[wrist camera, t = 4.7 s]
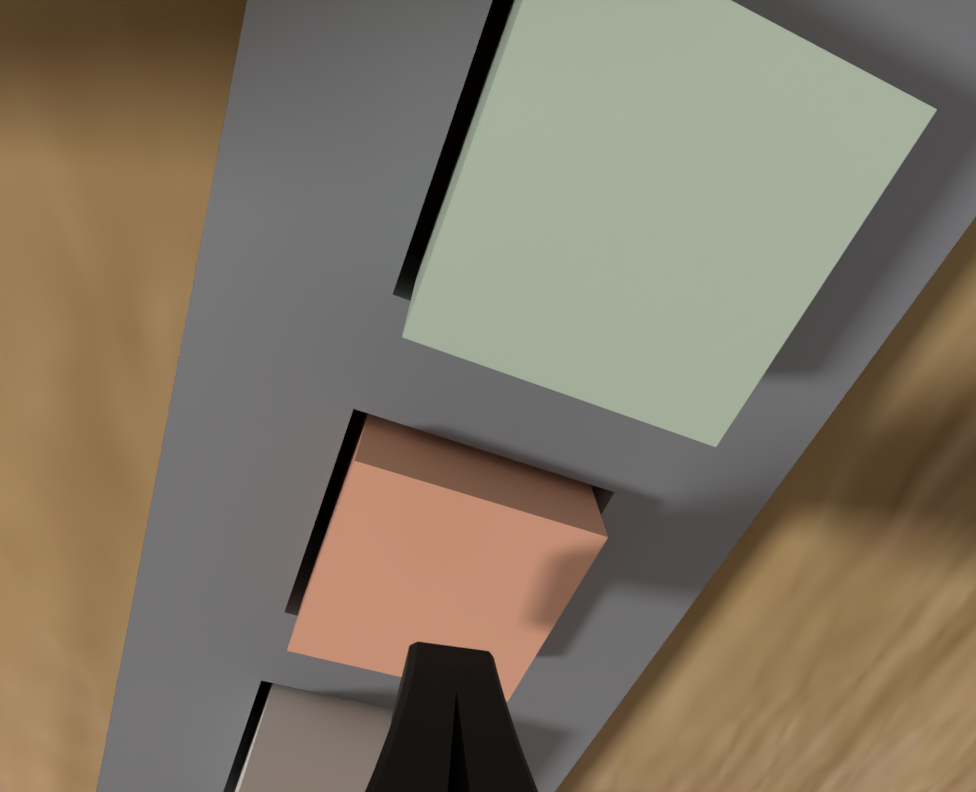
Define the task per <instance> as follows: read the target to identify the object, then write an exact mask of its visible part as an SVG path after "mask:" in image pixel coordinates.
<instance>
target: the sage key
mask: <svg viewBox="0 0 976 792" xmlns="http://www.w3.org/2000/svg"><path fill="white" fill-rule="evenodd" d="M936 111H937V109H935V108H933V107H932V106H930V105H928V104H926V103H924V102H922V101H920V100H918V99H916V98H915V97H913V96H911V95H909V94H907V93H905V92H903V91H901V90H899V89H898V88H896V87H894V86H892V85H890V84H888V83H886V82H884V81H882V80H881V79H879V78H877V77H875V76H873V75H871V74H869V73H867V72H865V71H864V70H862V69H860V68H858V67H856V66H854V65H852V64H850V63H848V62H847V61H845V60H843V59H841V58H839V57H837V56H835V55H833V54H831V53H830V52H828V51H826V50H824V49H822V48H820V47H818V46H816V45H814V44H813V43H811V42H809V41H807V40H805V39H803V38H801V37H799V36H798V35H796V34H794V33H792V32H790V31H788V30H786V29H784V28H782V27H781V26H779V25H777V24H775V23H773V22H771V21H769V20H767V19H765V18H764V17H762V16H760V15H758V14H756V13H754V12H752V11H750V10H748V9H747V8H745V7H743V6H741V5H739V4H737V3H735V2H733V1H731V0H512V2H511V5H510V8H509V11H508V14H507V17H506V20H505V22H504V25H503V28H502V31H501V34H500V37H499V39H498V42H497V45H496V48H495V51H494V54H493V56H492V59H491V62H490V65H489V68H488V71H487V73H486V76H485V79H484V82H483V85H482V88H481V90H480V93H479V96H478V99H477V102H476V105H475V108H474V110H473V113H472V116H471V119H470V122H469V125H468V127H467V130H466V133H465V136H464V139H463V142H462V144H461V147H460V150H459V153H458V156H457V159H456V161H455V164H454V167H453V170H452V173H451V176H450V178H449V181H448V184H447V187H446V190H445V193H444V196H443V198H442V201H441V204H440V207H439V210H438V213H437V215H436V218H435V221H434V224H433V227H432V230H431V232H430V235H429V238H428V241H427V244H426V247H425V249H424V252H423V255H422V258H421V261H420V264H419V268H418V272H417V276H416V281H415V285H414V289H413V293H412V297H411V302H410V306H409V310H408V314H407V318H406V322H405V327H404V331H403V335H402V337H403V338H405V339H408V340H411V341H414V342H417V343H420V344H423V345H425V346H428V347H431V348H434V349H437V350H440V351H443V352H445V353H448V354H451V355H454V356H457V357H460V358H463V359H465V360H468V361H471V362H474V363H477V364H480V365H483V366H485V367H488V368H491V369H494V370H497V371H500V372H503V373H505V374H508V375H511V376H514V377H517V378H520V379H523V380H525V381H528V382H531V383H534V384H537V385H540V386H543V387H545V388H548V389H551V390H554V391H557V392H560V393H562V394H565V395H568V396H571V397H574V398H577V399H580V400H582V401H585V402H588V403H591V404H594V405H597V406H600V407H602V408H605V409H608V410H611V411H614V412H617V413H620V414H622V415H625V416H628V417H631V418H634V419H637V420H640V421H642V422H645V423H648V424H651V425H654V426H657V427H660V428H662V429H665V430H668V431H671V432H674V433H677V434H680V435H682V436H685V437H688V438H691V439H694V440H697V441H700V442H702V443H705V444H708V445H711V446H714V447H716V446H717V445H718V443H719V442H720V440H721V439H722V437H723V436H724V434H725V433H726V431H727V430H728V428H729V427H730V425H731V423H732V422H733V420H734V419H735V417H736V416H737V414H738V413H739V411H740V410H741V408H742V407H743V405H744V404H745V402H746V401H747V399H748V398H749V396H750V395H751V393H752V391H753V390H754V388H755V387H756V385H757V384H758V382H759V381H760V379H761V378H762V376H763V375H764V373H765V372H766V370H767V369H768V367H769V366H770V364H771V362H772V361H773V359H774V358H775V356H776V355H777V353H778V352H779V350H780V349H781V347H782V346H783V344H784V343H785V341H786V340H787V338H788V337H789V335H790V333H791V332H792V330H793V329H794V327H795V326H796V324H797V323H798V321H799V320H800V318H801V317H802V315H803V314H804V312H805V311H806V309H807V308H808V306H809V304H810V303H811V301H812V300H813V298H814V297H815V295H816V294H817V292H818V291H819V289H820V288H821V286H822V285H823V283H824V282H825V280H826V279H827V277H828V275H829V274H830V272H831V271H832V269H833V268H834V266H835V265H836V263H837V262H838V260H839V259H840V257H841V256H842V254H843V253H844V251H845V250H846V248H847V246H848V245H849V243H850V242H851V240H852V239H853V237H854V236H855V234H856V233H857V231H858V230H859V228H860V227H861V225H862V224H863V222H864V221H865V219H866V217H867V216H868V214H869V213H870V211H871V210H872V208H873V207H874V205H875V204H876V202H877V201H878V199H879V198H880V196H881V195H882V193H883V192H884V190H885V188H886V187H887V185H888V184H889V182H890V181H891V179H892V178H893V176H894V175H895V173H896V172H897V170H898V169H899V167H900V166H901V164H902V163H903V161H904V159H905V158H906V156H907V155H908V153H909V152H910V150H911V149H912V147H913V146H914V144H915V143H916V141H917V140H918V138H919V137H920V135H921V134H922V132H923V130H924V129H925V127H926V126H927V124H928V123H929V121H930V120H931V118H932V117H933V115H934V114H935V112H936Z"/></svg>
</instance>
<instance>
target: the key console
mask: <svg viewBox="0 0 976 792" xmlns="http://www.w3.org/2000/svg"><path fill="white" fill-rule="evenodd" d="M492 1H493V0H247V3H246V8H245V13H244V19H243V24H242V29H241V34H240V40H239V45H238V50H237V55H236V61H235V66H234V71H233V76H232V82H231V87H230V92H229V97H228V103H227V108H226V113H225V118H224V124H223V129H222V134H221V139H220V145H219V150H218V155H217V160H216V166H215V171H214V176H213V181H212V187H211V192H210V197H209V202H208V208H207V213H206V218H205V223H204V229H203V234H202V239H201V244H200V250H199V255H198V260H197V265H196V271H195V276H194V281H193V286H192V292H191V297H190V302H189V307H188V313H187V318H186V323H185V328H184V334H183V339H182V344H181V349H180V355H179V360H178V365H177V371H176V376H175V381H174V386H173V392H172V397H171V402H170V407H169V413H168V418H167V423H166V428H165V434H164V439H163V444H162V449H161V455H160V460H159V465H158V470H157V476H156V481H155V486H154V491H153V497H152V502H151V507H150V512H149V518H148V523H147V528H146V533H145V539H144V544H143V549H142V554H141V560H140V565H139V570H138V575H137V581H136V586H135V591H134V596H133V602H132V607H131V612H130V617H129V623H128V628H127V633H126V638H125V644H124V649H123V654H122V659H121V665H120V670H119V675H118V680H117V686H116V691H115V696H114V701H113V707H112V712H111V717H110V722H109V728H108V733H107V738H106V743H105V749H104V754H103V759H102V764H101V770H100V775H99V780H98V785H97V791H96V792H235V789H236V786H237V783H238V780H239V777H240V774H241V770H242V767H243V764H244V761H245V758H246V755H247V752H248V749H249V746H250V743H251V741H252V738H253V735H254V732H255V729H256V726H257V724H258V721H259V718H260V715H261V713H258V712H253V711H251V709H252V706H253V703H254V700H255V697H256V694H257V691H258V688H259V685H260V682H261V681H266V682H270V683H275V684H279V685H284V686H289V687H293V688H298V689H302V690H307V691H311V692H316V693H321V694H325V695H330V696H334V697H339V698H343V699H348V700H353V701H357V702H362V703H366V704H371V705H375V706H380V707H384V708H389V709H394V706H395V702H396V698H397V693H398V689H399V685H400V681H401V677H399V676H394V675H390V674H386V673H381V672H377V671H373V670H368V669H364V668H360V667H355V666H351V665H347V664H342V663H338V662H334V661H329V660H325V659H321V658H316V657H312V656H308V655H303V654H299V653H295V652H290V651H287V649H288V645H289V642H290V639H291V636H292V633H293V629H294V626H295V623H296V620H297V616H298V613H299V610H300V607H301V604H302V600H303V597H304V594H305V591H306V588H307V584H308V581H309V578H310V575H311V572H312V568H313V565H314V562H315V559H316V555H317V552H318V549H319V546H320V543H321V539H322V536H323V533H324V530H321V529H317V528H313V527H314V524H315V521H316V518H317V515H318V512H319V509H320V506H321V503H322V500H323V497H324V494H325V491H326V488H327V485H328V483H329V480H330V477H331V474H332V471H333V468H334V465H335V462H336V459H337V456H338V453H339V450H340V447H341V444H342V441H343V438H344V435H345V433H346V430H347V427H348V424H349V421H350V418H351V415H352V412H353V409H356V410H359V411H362V412H365V413H368V414H371V415H375V416H378V417H381V418H384V419H387V420H390V421H393V422H396V423H400V424H403V425H406V426H409V427H412V428H415V429H418V430H421V431H425V432H428V433H431V434H434V435H437V436H440V437H443V438H446V439H450V440H453V441H456V442H459V443H462V444H465V445H468V446H471V447H475V448H478V449H481V450H484V451H487V452H490V453H493V454H497V455H500V456H503V457H506V458H509V459H512V460H515V461H518V462H522V463H525V464H528V465H531V466H534V467H537V468H540V469H543V470H547V471H550V472H553V473H556V474H559V475H562V476H565V477H568V478H572V479H575V480H578V481H581V482H584V483H587V484H590V485H591V487H592V490H593V493H594V496H595V499H596V502H597V505H598V508H599V511H600V514H601V517H602V520H603V523H604V526H605V529H606V532H607V535H608V538H607V540H606V542H605V543H604V545H603V546H602V548H601V550H600V551H599V553H598V555H597V556H596V558H595V560H594V561H593V563H592V564H591V566H590V568H589V569H588V571H587V573H586V574H585V576H584V578H583V579H582V581H581V582H580V584H579V586H578V587H577V589H576V591H575V592H574V594H573V596H572V597H571V599H570V600H569V602H568V604H567V605H566V607H565V609H564V610H563V612H562V614H561V615H560V617H559V618H558V620H557V622H556V623H555V625H554V627H553V628H552V630H551V632H550V633H549V635H548V636H547V638H546V640H545V641H544V643H543V645H542V646H541V648H540V650H539V651H538V653H537V654H536V656H535V658H534V659H533V661H532V663H531V664H530V666H529V668H528V669H527V671H526V672H525V674H524V676H523V677H522V679H521V681H520V682H519V684H518V686H517V687H516V689H515V690H514V692H513V694H512V695H511V697H510V699H509V700H508V702H507V701H506V703H507V706H508V709H509V713H510V716H511V719H512V722H513V725H514V728H515V731H516V734H517V736H518V739H519V742H520V745H521V748H522V751H523V753H524V756H525V759H526V761H527V764H528V767H529V769H530V772H531V774H532V777H533V780H534V782H535V785H536V787H537V790H538V792H555V791H556V790H557V788H558V787H559V785H560V784H561V783H562V781H563V780H564V779H565V777H566V776H567V775H568V773H569V772H570V770H571V769H572V768H573V766H574V765H575V764H576V762H577V761H578V759H579V758H580V757H581V755H582V754H583V753H584V751H585V750H586V749H587V747H588V746H589V744H590V743H591V742H592V740H593V739H594V738H595V736H596V735H597V733H598V732H599V731H600V729H601V728H602V727H603V725H604V724H605V723H606V721H607V720H608V718H609V717H610V716H611V714H612V713H613V712H614V710H615V709H616V708H617V706H618V705H619V703H620V702H621V701H622V699H623V698H624V697H625V695H626V694H627V692H628V691H629V690H630V688H631V687H632V686H633V684H634V683H635V682H636V680H637V679H638V677H639V676H640V675H641V673H642V672H643V671H644V669H645V668H646V667H647V665H648V664H649V662H650V661H651V660H652V658H653V657H654V656H655V654H656V653H657V651H658V650H659V649H660V647H661V646H662V645H663V643H664V642H665V641H666V639H667V638H668V636H669V635H670V634H671V632H672V631H673V630H674V628H675V627H676V626H677V624H678V623H679V621H680V620H681V619H682V617H683V616H684V615H685V613H686V612H687V610H688V609H689V608H690V606H691V605H692V604H693V602H694V601H695V600H696V598H697V597H698V595H699V594H700V593H701V591H702V590H703V589H704V587H705V586H706V585H707V583H708V582H709V580H710V579H711V578H712V576H713V575H714V574H715V572H716V571H717V569H718V568H719V567H720V565H721V564H722V563H723V561H724V560H725V559H726V557H727V556H728V554H729V553H730V552H731V550H732V549H733V548H734V546H735V545H736V544H737V542H738V541H739V539H740V538H741V537H742V535H743V534H744V533H745V531H746V530H747V528H748V527H749V526H750V524H751V523H752V522H753V520H754V519H755V518H756V516H757V515H758V513H759V512H760V511H761V509H762V508H763V507H764V505H765V504H766V503H767V501H768V500H769V498H770V497H771V496H772V494H773V493H774V492H775V490H776V489H777V487H778V486H779V485H780V483H781V482H782V481H783V479H784V478H785V477H786V475H787V474H788V472H789V471H790V470H791V468H792V467H793V466H794V464H795V463H796V461H797V460H798V459H799V457H800V456H801V455H802V453H803V452H804V451H805V449H806V448H807V446H808V445H809V444H810V442H811V441H812V440H813V438H814V437H815V436H816V434H817V433H818V431H819V430H820V429H821V427H822V426H823V425H824V423H825V422H826V420H827V419H828V418H829V416H830V415H831V414H832V412H833V411H834V410H835V408H836V407H837V405H838V404H839V403H840V401H841V400H842V399H843V397H844V396H845V395H846V393H847V392H848V390H849V389H850V388H851V386H852V385H853V384H854V382H855V381H856V379H857V378H858V377H859V375H860V374H861V373H862V371H863V370H864V369H865V367H866V366H867V364H868V363H869V362H870V360H871V359H872V358H873V356H874V355H875V354H876V352H877V351H878V349H879V348H880V347H881V345H882V344H883V343H884V341H885V340H886V338H887V337H888V336H889V334H890V333H891V332H892V330H893V329H894V328H895V326H896V325H897V323H898V322H899V321H900V319H901V318H902V317H903V315H904V314H905V313H906V311H907V310H908V308H909V307H910V306H911V304H912V303H913V302H914V300H915V299H916V297H917V296H918V295H919V293H920V292H921V291H922V289H923V288H924V287H925V285H926V284H927V282H928V281H929V280H930V278H931V277H932V276H933V274H934V273H935V272H936V270H937V269H938V267H939V266H940V265H941V263H942V262H943V261H944V259H945V258H946V256H947V255H948V254H949V252H950V251H951V250H952V248H953V247H954V246H955V244H956V243H957V241H958V240H959V239H960V237H961V236H962V235H963V233H964V232H965V231H966V229H967V228H968V226H969V225H970V224H971V222H972V221H973V220H974V218H975V217H976V0H731V1H733V2H735V3H737V4H739V5H741V6H743V7H745V8H747V9H748V10H750V11H752V12H754V13H756V14H758V15H760V16H762V17H764V18H765V19H767V20H769V21H771V22H773V23H775V24H777V25H779V26H781V27H782V28H784V29H786V30H788V31H790V32H792V33H794V34H796V35H798V36H799V37H801V38H803V39H805V40H807V41H809V42H811V43H813V44H814V45H816V46H818V47H820V48H822V49H824V50H826V51H828V52H830V53H831V54H833V55H835V56H837V57H839V58H841V59H843V60H845V61H847V62H848V63H850V64H852V65H854V66H856V67H858V68H860V69H862V70H864V71H865V72H867V73H869V74H871V75H873V76H875V77H877V78H879V79H881V80H882V81H884V82H886V83H888V84H890V85H892V86H894V87H896V88H898V89H899V90H901V91H903V92H905V93H907V94H909V95H911V96H913V97H915V98H916V99H918V100H920V101H922V102H924V103H926V104H928V105H930V106H932V107H933V108H935V109H937V111H936V112H935V114H934V115H933V117H932V118H931V120H930V121H929V123H928V124H927V126H926V127H925V129H924V130H923V132H922V134H921V135H920V137H919V138H918V140H917V141H916V143H915V144H914V146H913V147H912V149H911V150H910V152H909V153H908V155H907V156H906V158H905V159H904V161H903V163H902V164H901V166H900V167H899V169H898V170H897V172H896V173H895V175H894V176H893V178H892V179H891V181H890V182H889V184H888V185H887V187H886V188H885V190H884V192H883V193H882V195H881V196H880V198H879V199H878V201H877V202H876V204H875V205H874V207H873V208H872V210H871V211H870V213H869V214H868V216H867V217H866V219H865V221H864V222H863V224H862V225H861V227H860V228H859V230H858V231H857V233H856V234H855V236H854V237H853V239H852V240H851V242H850V243H849V245H848V246H847V248H846V250H845V251H844V253H843V254H842V256H841V257H840V259H839V260H838V262H837V263H836V265H835V266H834V268H833V269H832V271H831V272H830V274H829V275H828V277H827V279H826V280H825V282H824V283H823V285H822V286H821V288H820V289H819V291H818V292H817V294H816V295H815V297H814V298H813V300H812V301H811V303H810V304H809V306H808V308H807V309H806V311H805V312H804V314H803V315H802V317H801V318H800V320H799V321H798V323H797V324H796V326H795V327H794V329H793V330H792V332H791V333H790V335H789V337H788V338H787V340H786V341H785V343H784V344H783V346H782V347H781V349H780V350H779V352H778V353H777V355H776V356H775V358H774V359H773V361H772V362H771V364H770V366H769V367H768V369H767V370H766V372H765V373H764V375H763V376H762V378H761V379H760V381H759V382H758V384H757V385H756V387H755V388H754V390H753V391H752V393H751V395H750V396H749V398H748V399H747V401H746V402H745V404H744V405H743V407H742V408H741V410H740V411H739V413H738V414H737V416H736V417H735V419H734V420H733V422H732V423H731V425H730V427H729V428H728V430H727V431H726V433H725V434H724V436H723V437H722V439H721V440H720V442H719V443H718V445H717V446H716V447H714V446H711V445H708V444H705V443H702V442H700V441H697V440H694V439H691V438H688V437H685V436H682V435H680V434H677V433H674V432H671V431H668V430H665V429H662V428H660V427H657V426H654V425H651V424H648V423H645V422H642V421H640V420H637V419H634V418H631V417H628V416H625V415H622V414H620V413H617V412H614V411H611V410H608V409H605V408H602V407H600V406H597V405H594V404H591V403H588V402H585V401H582V400H580V399H577V398H574V397H571V396H568V395H565V394H562V393H560V392H557V391H554V390H551V389H548V388H545V387H543V386H540V385H537V384H534V383H531V382H528V381H525V380H523V379H520V378H517V377H514V376H511V375H508V374H505V373H503V372H500V371H497V370H494V369H491V368H488V367H485V366H483V365H480V364H477V363H474V362H471V361H468V360H465V359H463V358H460V357H457V356H454V355H451V354H448V353H445V352H443V351H440V350H437V349H434V348H431V347H428V346H425V345H423V344H420V343H417V342H414V341H411V340H408V339H405V338H403V337H402V335H403V331H404V327H405V322H406V318H407V314H408V310H409V306H410V302H411V297H412V293H413V289H414V285H415V281H416V276H417V272H418V268H419V264H420V261H421V259H420V258H417V257H414V256H412V255H409V254H407V250H408V247H409V244H410V242H411V239H412V236H413V233H414V230H415V227H416V224H417V221H418V218H419V215H420V212H421V209H422V206H423V203H424V200H425V197H426V194H427V192H428V189H429V186H430V183H431V180H432V177H433V174H434V171H435V168H436V165H437V162H438V159H439V156H440V153H441V150H442V147H443V145H444V142H445V139H446V136H447V133H448V130H449V127H450V124H451V121H452V118H453V115H454V112H455V109H456V106H457V103H458V100H459V97H460V95H461V92H462V89H463V86H464V83H465V80H466V77H467V74H468V71H469V68H470V65H471V62H472V59H473V56H474V53H475V50H476V48H477V45H478V42H479V39H480V36H481V33H482V30H483V27H484V24H485V21H486V18H487V15H488V12H489V9H490V6H491V3H492Z"/></svg>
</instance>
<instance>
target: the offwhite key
mask: <svg viewBox="0 0 976 792" xmlns="http://www.w3.org/2000/svg"><path fill="white" fill-rule="evenodd" d="M393 710H394V709H389V708H384V707H380V706H375V705H371V704H366V703H362V702H357V701H353V700H348V699H343V698H339V697H334V696H330V695H325V694H321V693H316V692H311V691H307V690H302V689H298V688H293V687H289V686H284V685H279V684H275V683H272V684H271V687H270V689H269V692H268V695H267V698H266V701H265V704H264V707H263V709H262V712H261V715H260V718H259V721H258V724H257V726H256V729H255V732H254V735H253V738H252V741H251V743H250V746H249V749H248V752H247V755H246V758H245V761H244V764H243V767H242V770H241V774H240V777H239V780H238V783H237V786H236V789H235V792H365V790H366V788H367V786H368V783H369V781H370V778H371V776H372V774H373V771H374V769H375V766H376V763H377V761H378V758H379V755H380V753H381V750H382V747H383V745H384V742H385V739H386V737H387V734H388V731H389V728H390V725H391V719H392V714H393Z"/></svg>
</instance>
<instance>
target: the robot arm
mask: <svg viewBox="0 0 976 792" xmlns="http://www.w3.org/2000/svg"><path fill="white" fill-rule="evenodd" d="M365 792H538V790H537V787H536V785H535V782H534V780H533V777H532V774H531V772H530V769H529V767H528V764H527V761H526V759H525V756H524V753H523V751H522V748H521V745H520V742H519V739H518V736H517V734H516V731H515V728H514V725H513V722H512V719H511V716H510V713H509V709H508V706H507V703H506V700H505V697H504V693H503V690H502V686H501V683H500V679H499V676H498V672H497V668H496V664H495V660H494V657H493V655H492V654H491V653H490V652H489V651H485V650H477V649H470V648H462V647H455V646H448V645H440V644H433V643H425V642H418V641H417V642H415V643H413V644H411V645H409V649H408V653H407V657H406V661H405V665H404V669H403V673H402V677H401V681H400V685H399V689H398V693H397V698H396V702H395V706H394V710H393V714H392V719H391V725H390V728H389V731H388V734H387V737H386V739H385V742H384V745H383V747H382V750H381V753H380V755H379V758H378V761H377V763H376V766H375V769H374V771H373V774H372V776H371V778H370V781H369V783H368V786H367V788H366V790H365Z"/></svg>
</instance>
